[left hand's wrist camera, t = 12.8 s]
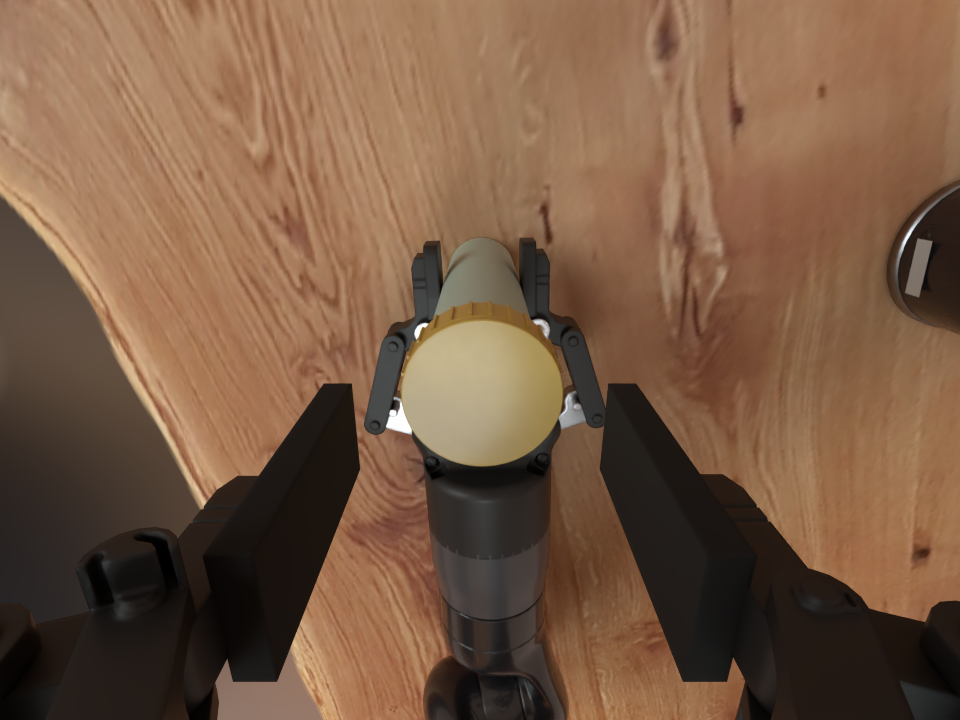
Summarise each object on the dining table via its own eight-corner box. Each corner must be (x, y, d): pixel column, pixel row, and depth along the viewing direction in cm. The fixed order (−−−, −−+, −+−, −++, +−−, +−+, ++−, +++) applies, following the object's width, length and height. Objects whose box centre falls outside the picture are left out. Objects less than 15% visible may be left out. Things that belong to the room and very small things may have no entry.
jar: (466, 225, 32) (450, 304, 15) (525, 255, 33) (573, 363, 16) (438, 284, 33) (394, 418, 16) (495, 311, 34) (510, 467, 17)
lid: (445, 272, 16) (441, 287, 14) (585, 341, 17) (597, 362, 15) (383, 402, 18) (372, 430, 16) (513, 459, 18) (517, 491, 17)
